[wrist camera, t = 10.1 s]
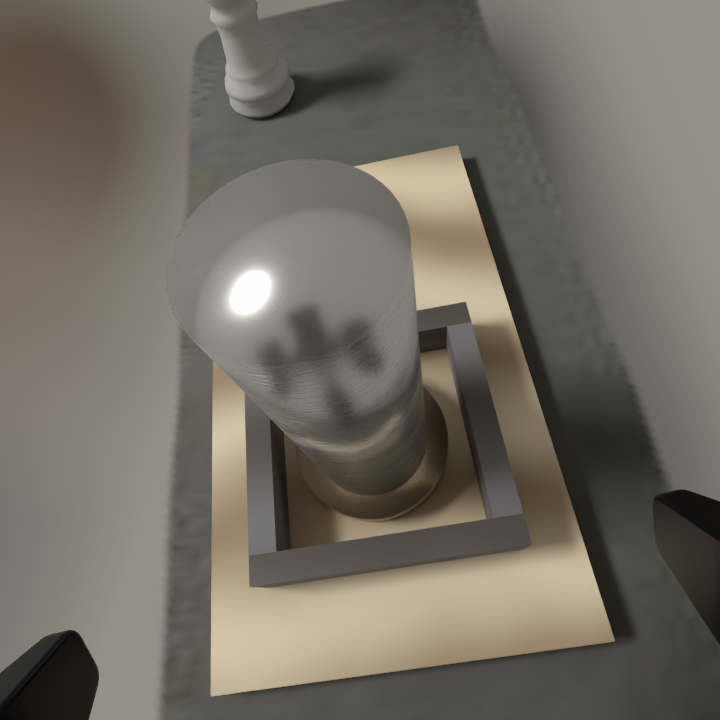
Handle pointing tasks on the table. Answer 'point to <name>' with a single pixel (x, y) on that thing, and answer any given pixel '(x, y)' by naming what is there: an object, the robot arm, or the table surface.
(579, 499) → the table surface
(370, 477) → the grey rounded piece
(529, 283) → the table surface
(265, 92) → the rook chess piece
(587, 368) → the table surface
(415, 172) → the carrier board
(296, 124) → the table surface
